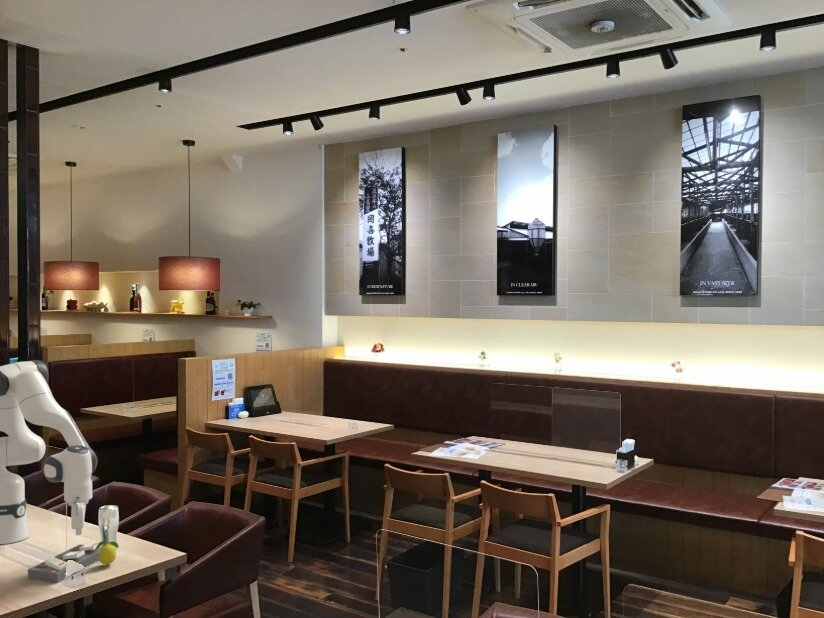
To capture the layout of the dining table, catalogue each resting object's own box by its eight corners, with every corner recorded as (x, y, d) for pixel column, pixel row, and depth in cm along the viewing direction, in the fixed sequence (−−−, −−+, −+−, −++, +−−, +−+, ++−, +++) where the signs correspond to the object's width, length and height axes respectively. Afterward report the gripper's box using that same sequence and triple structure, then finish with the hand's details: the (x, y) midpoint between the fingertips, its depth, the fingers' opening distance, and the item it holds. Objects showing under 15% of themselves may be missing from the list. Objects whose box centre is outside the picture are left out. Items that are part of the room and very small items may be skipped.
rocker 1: (44, 564, 245) (45, 560, 245) (53, 560, 249) (53, 556, 249) (59, 570, 244) (60, 566, 244) (67, 566, 247) (68, 562, 247)
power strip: (27, 578, 245) (27, 568, 245) (79, 552, 268) (79, 543, 268) (57, 582, 241) (57, 573, 241) (107, 556, 264) (107, 547, 264)
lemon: (95, 569, 252) (94, 541, 252) (98, 563, 258) (98, 535, 258) (115, 568, 254) (115, 539, 253) (118, 561, 259) (118, 533, 259)
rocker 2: (63, 559, 253) (62, 555, 253) (71, 555, 256) (70, 552, 256) (77, 557, 251) (76, 553, 251) (85, 553, 255) (84, 550, 255)
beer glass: (111, 552, 268) (111, 511, 268) (94, 550, 270) (94, 510, 269) (123, 545, 275) (122, 505, 275) (106, 543, 277) (105, 504, 276)
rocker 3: (80, 551, 261) (79, 547, 261) (87, 547, 264) (86, 544, 264) (93, 549, 259) (93, 545, 259) (100, 545, 262) (100, 542, 262)
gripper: (87, 501, 244) (88, 542, 244) (89, 485, 263) (89, 523, 263) (66, 503, 241) (67, 545, 242) (69, 487, 260) (70, 525, 261)
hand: (78, 533), depth 253 cm, fingers closed
